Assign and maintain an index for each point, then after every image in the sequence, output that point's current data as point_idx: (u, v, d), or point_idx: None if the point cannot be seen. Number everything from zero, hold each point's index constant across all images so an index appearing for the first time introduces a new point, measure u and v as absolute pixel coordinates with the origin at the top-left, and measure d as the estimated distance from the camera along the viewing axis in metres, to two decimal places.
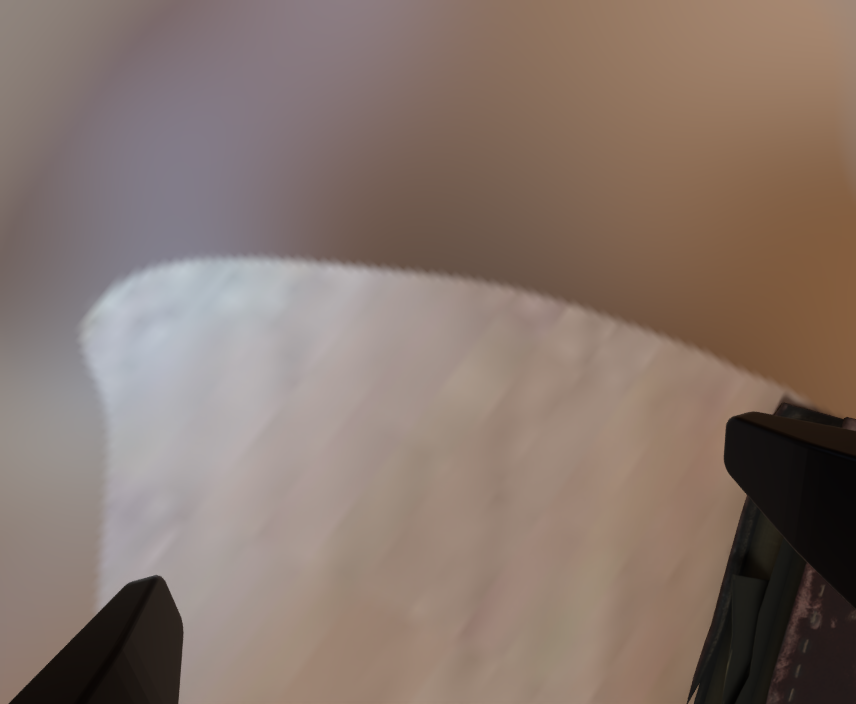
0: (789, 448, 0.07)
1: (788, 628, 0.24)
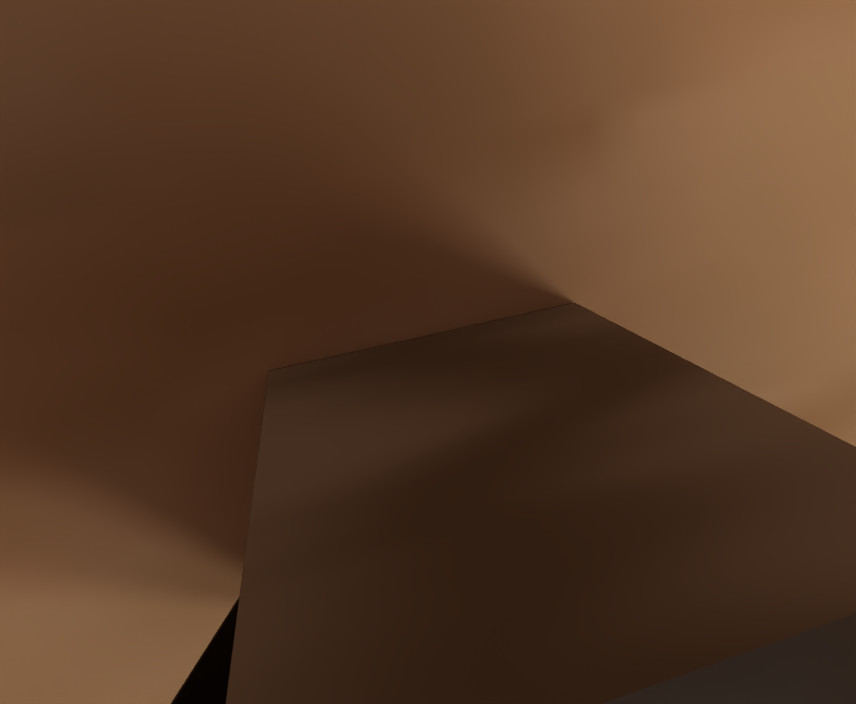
0: None
1: None
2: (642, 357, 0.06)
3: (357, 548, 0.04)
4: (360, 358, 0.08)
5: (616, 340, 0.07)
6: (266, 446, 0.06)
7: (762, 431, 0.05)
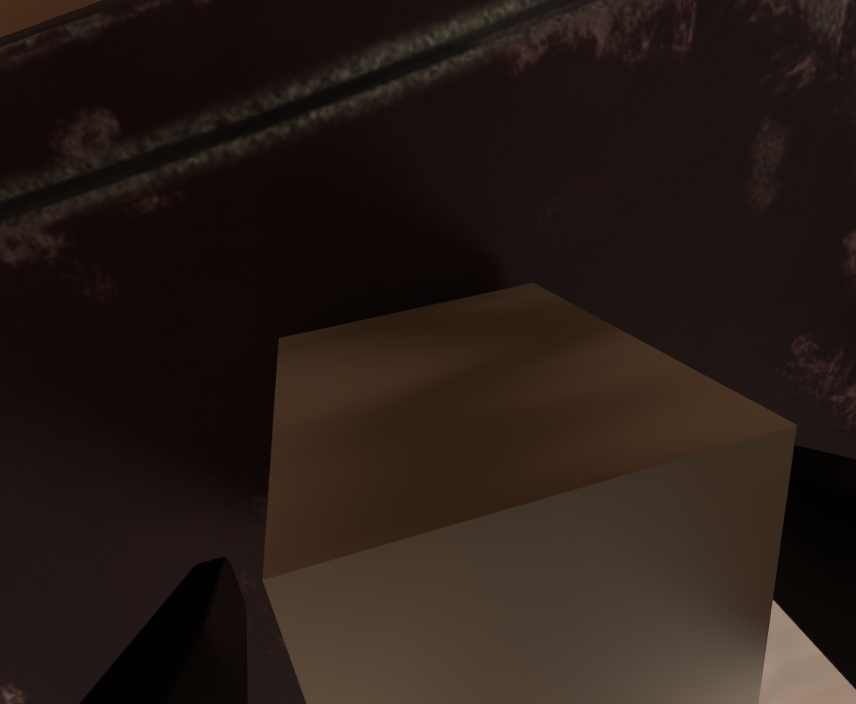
0: None
1: None
2: (576, 322, 0.08)
3: (351, 446, 0.06)
4: (354, 327, 0.10)
5: (559, 310, 0.09)
6: (280, 389, 0.08)
7: (646, 368, 0.06)
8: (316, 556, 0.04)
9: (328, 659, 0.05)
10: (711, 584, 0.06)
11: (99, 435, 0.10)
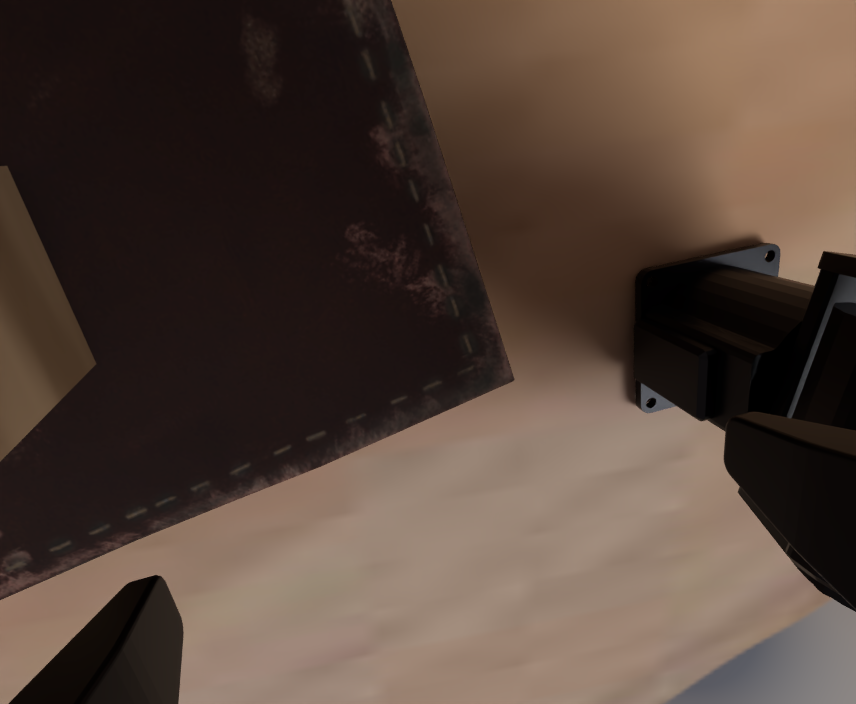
0: (789, 448, 0.07)
1: (63, 571, 0.16)
2: None
3: None
4: None
5: None
6: None
7: None
8: None
9: None
10: None
11: None
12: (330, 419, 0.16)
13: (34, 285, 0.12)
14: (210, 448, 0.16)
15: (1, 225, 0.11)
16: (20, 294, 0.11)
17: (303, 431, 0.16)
